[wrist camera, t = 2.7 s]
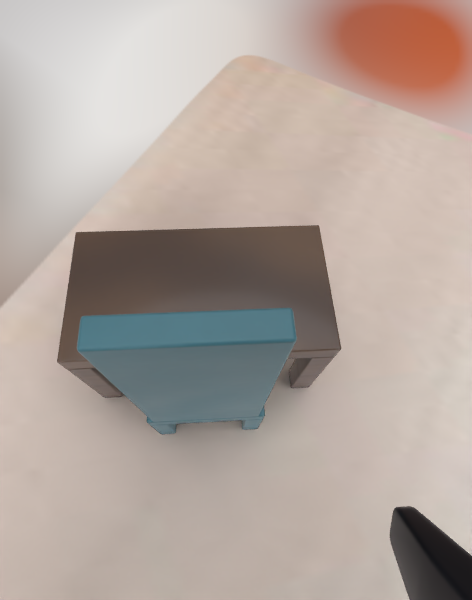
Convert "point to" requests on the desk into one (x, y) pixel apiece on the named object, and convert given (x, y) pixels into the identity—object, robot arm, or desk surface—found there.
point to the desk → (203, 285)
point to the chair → (192, 361)
